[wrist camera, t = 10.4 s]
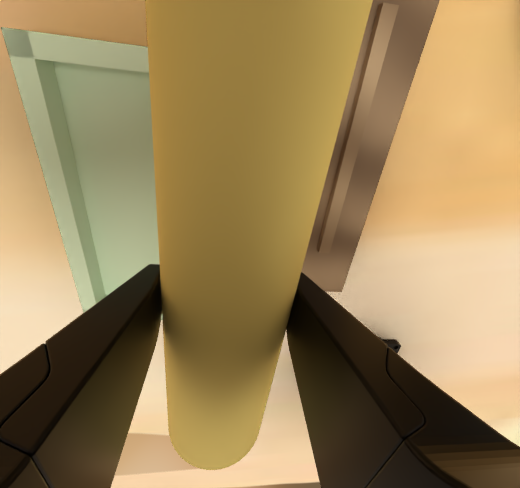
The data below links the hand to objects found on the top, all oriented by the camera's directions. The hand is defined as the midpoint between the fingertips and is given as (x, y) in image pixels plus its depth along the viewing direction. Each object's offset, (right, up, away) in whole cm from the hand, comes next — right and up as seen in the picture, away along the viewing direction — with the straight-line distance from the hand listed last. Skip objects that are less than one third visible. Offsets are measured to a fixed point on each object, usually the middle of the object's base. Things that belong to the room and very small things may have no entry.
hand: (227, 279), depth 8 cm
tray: (-7, +4, +10) cm, 13 cm away
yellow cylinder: (0, +1, +1) cm, 1 cm away
